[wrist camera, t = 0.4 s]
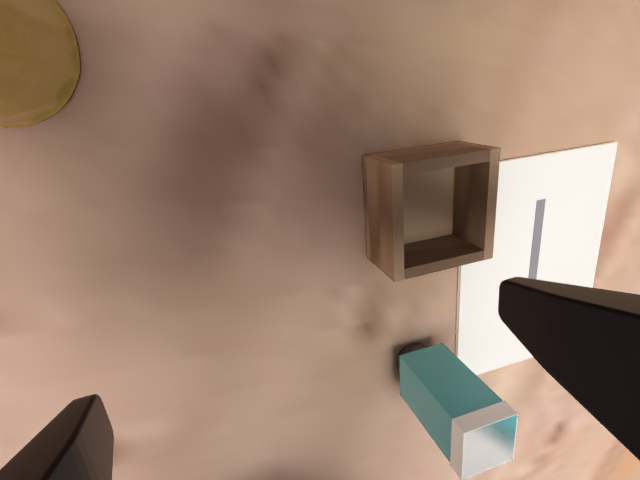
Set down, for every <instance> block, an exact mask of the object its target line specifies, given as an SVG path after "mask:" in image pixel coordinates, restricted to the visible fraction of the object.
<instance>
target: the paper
mask: <svg viewBox="0 0 640 480" xmlns="http://www.w3.org/2000/svg"><path fill="white" fill-rule="evenodd" d="M617 144H618V142H608V143H602V144H596V145H590V146H584V147H578V148H572V149H567V150H561V151H555V152H549V153H543V154H537V155H531V156H525V157H519V158H513V159H507V160H501V161H500V163H499V177H498V191H497V205H496V219H495V233H494V247H493V258H491V259H487V260H483V261H478V262H474V263H470V264H466V265H462V266H458V291H457V317H456V343H455V355H456V356H457V357H458V358H459V359H460V360H461V361H462V362H463V363H464V364H465V365H466V366H467V367H468V368H469V369H470V370H471V371H472V372H473V373H474V374H475V375H479V374H482V373H485V372H488V371H491V370H494V369H497V368H500V367H504V366H507V365H510V364H513V363H516V362H519V361H522V360H525V359H528V358H531V357H533V356H532V355H531V354H530V352H529V351H528V350H527V349H526V348H525V347H524V346H523V344H522V343H521V342H520V341H519V340H518V339H517V338H516V336H515V335H514V334H513V333H512V332H511V331H510V329H509V328H508V327H507V326H506V325H505V324H504V323H503V321H502V320H501V318H500V316H499V313H498V302H499V286H500V283H501V282H502V281H503V280H506V279H510V278H513V277H524V278H530V279H537V280H544V281H550V282H557V283H564V284H570V285H577V286H584V287H591V288H593V282H594V276H595V270H596V265H597V259H598V253H599V247H600V242H601V236H602V230H603V224H604V219H605V213H606V207H607V201H608V196H609V190H610V184H611V178H612V173H613V167H614V161H615V156H616V150H617Z"/></svg>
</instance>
